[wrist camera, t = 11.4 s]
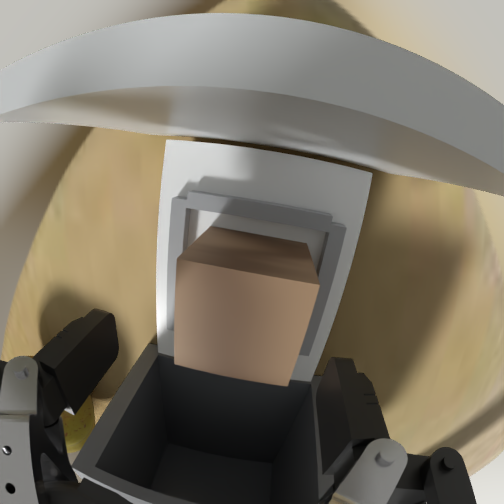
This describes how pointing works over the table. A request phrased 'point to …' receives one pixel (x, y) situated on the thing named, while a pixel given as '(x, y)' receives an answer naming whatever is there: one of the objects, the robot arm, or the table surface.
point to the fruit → (78, 425)
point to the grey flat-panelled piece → (265, 131)
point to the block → (243, 305)
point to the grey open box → (206, 439)
